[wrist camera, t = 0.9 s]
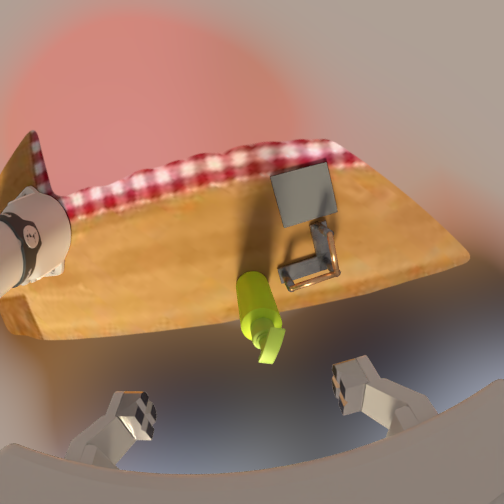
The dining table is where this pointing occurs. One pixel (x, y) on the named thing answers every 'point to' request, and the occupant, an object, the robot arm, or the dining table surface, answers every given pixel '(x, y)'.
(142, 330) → the dining table surface
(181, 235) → the dining table surface
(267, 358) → the soap dispenser
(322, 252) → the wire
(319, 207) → the mat
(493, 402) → the robot arm
